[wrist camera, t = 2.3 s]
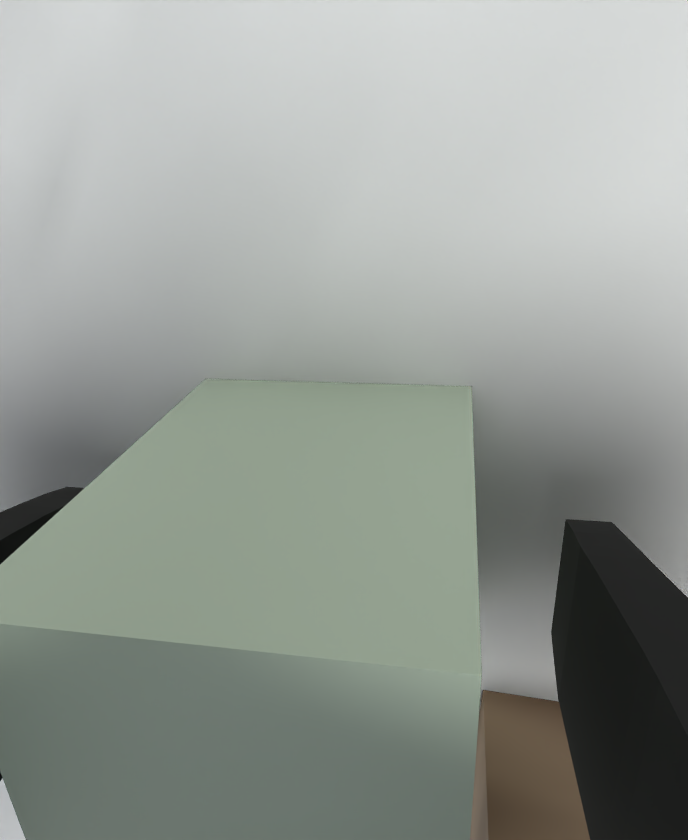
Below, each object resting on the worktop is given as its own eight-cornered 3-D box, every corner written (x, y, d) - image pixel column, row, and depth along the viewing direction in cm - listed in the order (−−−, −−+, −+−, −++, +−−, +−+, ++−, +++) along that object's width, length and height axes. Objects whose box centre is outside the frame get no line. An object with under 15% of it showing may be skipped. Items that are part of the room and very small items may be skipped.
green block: (233, 588, 12) (58, 925, 7) (206, 377, 11) (-59, 617, 5) (460, 607, 12) (456, 1005, 6) (471, 385, 10) (481, 674, 4)
